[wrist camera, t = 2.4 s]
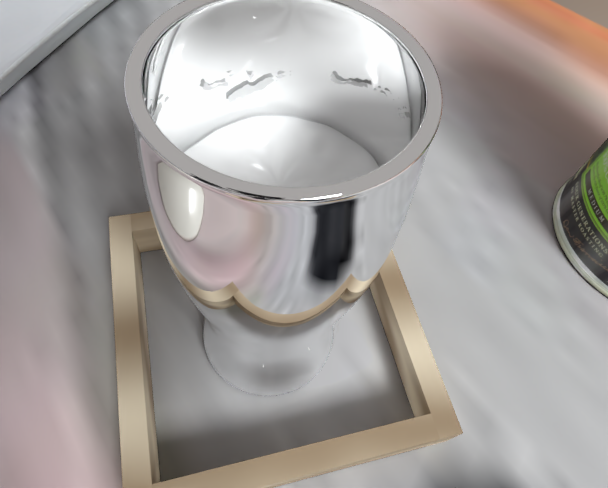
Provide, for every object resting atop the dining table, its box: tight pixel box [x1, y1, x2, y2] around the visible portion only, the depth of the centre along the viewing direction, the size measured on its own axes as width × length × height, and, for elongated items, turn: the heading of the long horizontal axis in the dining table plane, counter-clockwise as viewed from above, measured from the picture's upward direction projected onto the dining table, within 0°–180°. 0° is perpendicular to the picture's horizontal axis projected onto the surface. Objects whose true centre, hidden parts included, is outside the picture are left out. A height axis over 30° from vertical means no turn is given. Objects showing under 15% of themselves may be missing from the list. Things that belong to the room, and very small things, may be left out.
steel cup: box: [124, 0, 443, 396], centre depth 16 cm, size 7×7×15 cm
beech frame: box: [109, 211, 463, 488], centre depth 22 cm, size 13×13×2 cm
